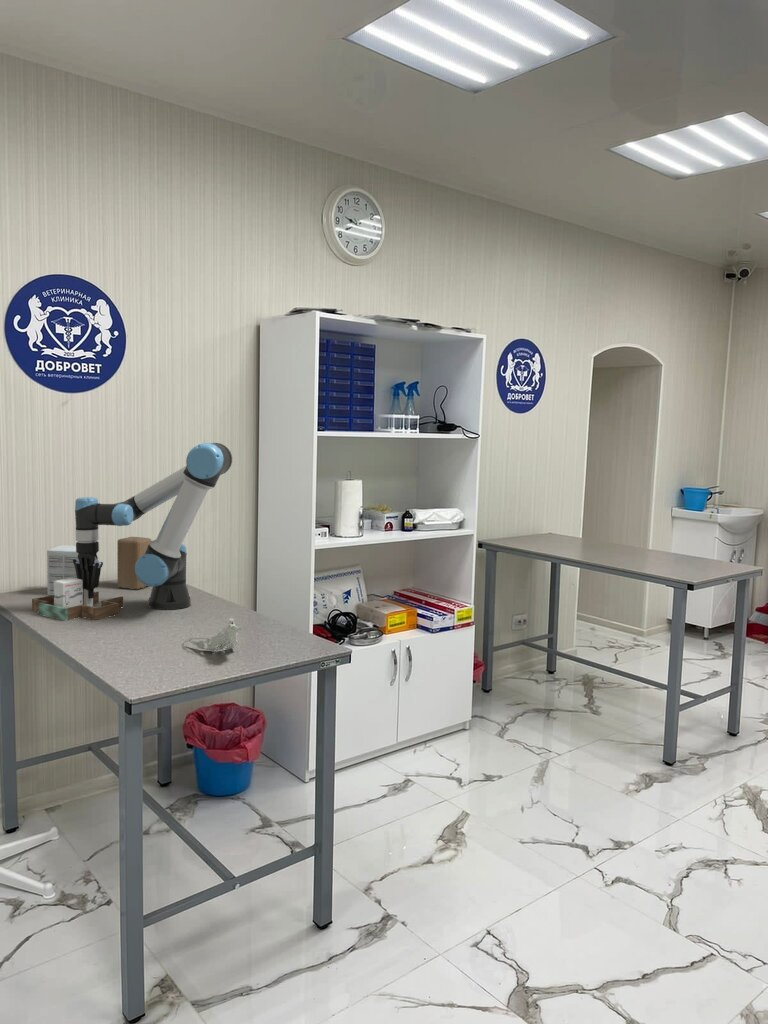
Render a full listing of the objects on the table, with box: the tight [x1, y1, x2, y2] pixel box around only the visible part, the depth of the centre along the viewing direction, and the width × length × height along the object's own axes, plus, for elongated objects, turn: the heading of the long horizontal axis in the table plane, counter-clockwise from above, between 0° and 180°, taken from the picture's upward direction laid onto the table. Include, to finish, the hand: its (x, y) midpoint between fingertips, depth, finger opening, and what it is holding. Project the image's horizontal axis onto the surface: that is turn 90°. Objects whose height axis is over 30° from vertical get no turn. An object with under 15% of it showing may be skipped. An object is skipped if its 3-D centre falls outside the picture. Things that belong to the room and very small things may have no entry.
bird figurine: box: [182, 617, 242, 653], centre depth 234 cm, size 16×9×25 cm
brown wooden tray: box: [31, 591, 124, 621], centre depth 277 cm, size 28×24×4 cm
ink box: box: [54, 578, 83, 608], centre depth 273 cm, size 9×5×12 cm, turn 151°
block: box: [117, 536, 152, 590], centre depth 318 cm, size 10×10×20 cm
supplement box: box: [46, 544, 78, 596], centre depth 305 cm, size 13×13×18 cm
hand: (88, 606), depth 279 cm, fingers closed
